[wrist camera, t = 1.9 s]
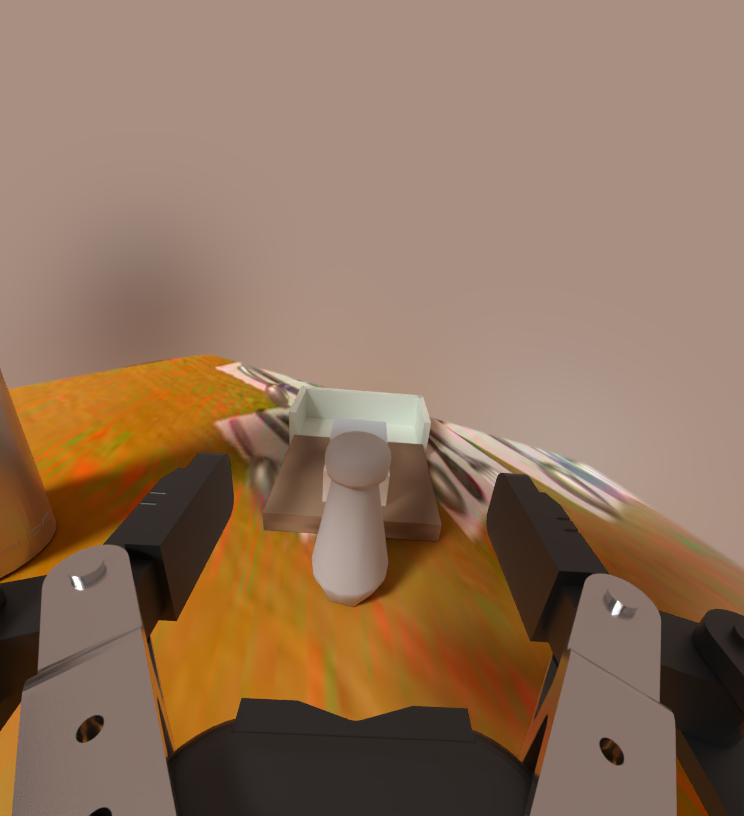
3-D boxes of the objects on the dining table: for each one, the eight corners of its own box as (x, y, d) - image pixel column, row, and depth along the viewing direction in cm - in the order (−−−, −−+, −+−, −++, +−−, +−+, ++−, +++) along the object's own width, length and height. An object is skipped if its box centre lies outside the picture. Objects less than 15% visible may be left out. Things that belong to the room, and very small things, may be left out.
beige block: (322, 501, 34) (323, 470, 33) (328, 470, 39) (329, 442, 37) (385, 506, 34) (389, 475, 33) (384, 474, 39) (387, 446, 37)
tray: (289, 447, 46) (289, 412, 44) (301, 417, 53) (301, 386, 51) (425, 457, 46) (431, 423, 44) (417, 426, 54) (422, 395, 52)
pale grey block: (328, 467, 39) (329, 439, 38) (333, 443, 44) (334, 418, 42) (384, 471, 39) (387, 444, 38) (383, 447, 44) (386, 421, 42)
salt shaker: (345, 543, 32) (355, 412, 27) (398, 579, 29) (421, 441, 24) (295, 586, 28) (294, 440, 23) (351, 634, 25) (366, 480, 20)
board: (263, 529, 33) (262, 512, 32) (294, 448, 46) (294, 434, 45) (438, 541, 34) (441, 524, 33) (420, 457, 46) (422, 444, 45)
